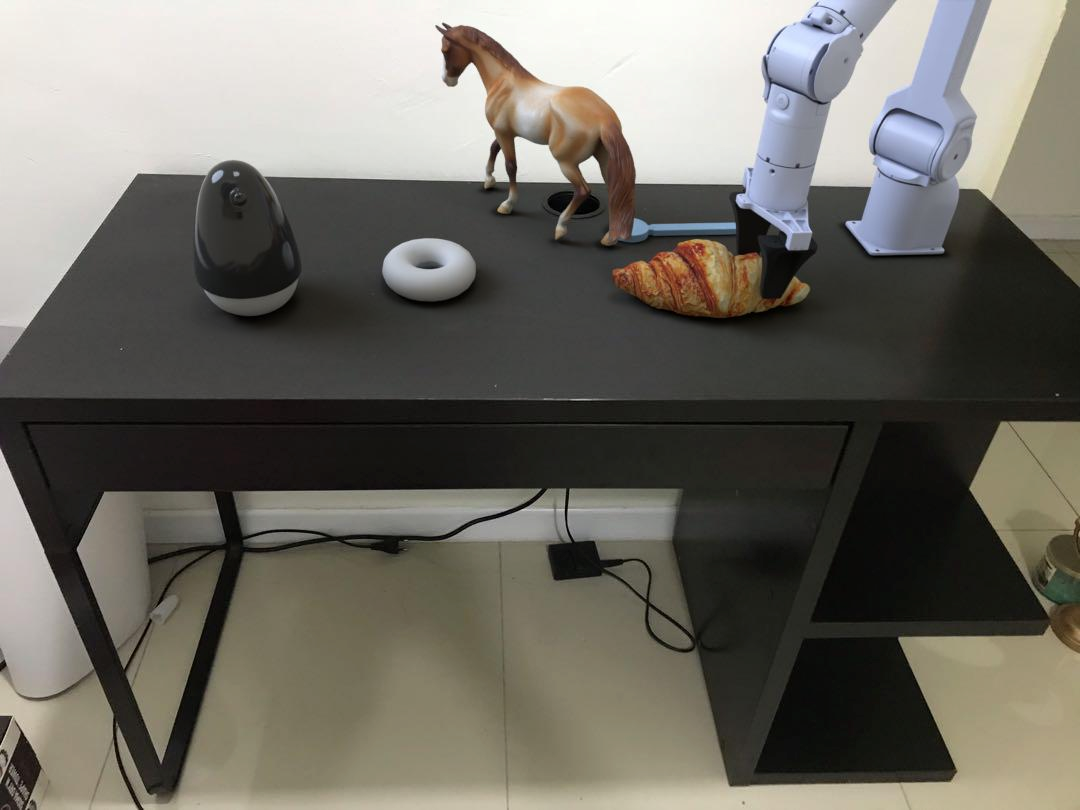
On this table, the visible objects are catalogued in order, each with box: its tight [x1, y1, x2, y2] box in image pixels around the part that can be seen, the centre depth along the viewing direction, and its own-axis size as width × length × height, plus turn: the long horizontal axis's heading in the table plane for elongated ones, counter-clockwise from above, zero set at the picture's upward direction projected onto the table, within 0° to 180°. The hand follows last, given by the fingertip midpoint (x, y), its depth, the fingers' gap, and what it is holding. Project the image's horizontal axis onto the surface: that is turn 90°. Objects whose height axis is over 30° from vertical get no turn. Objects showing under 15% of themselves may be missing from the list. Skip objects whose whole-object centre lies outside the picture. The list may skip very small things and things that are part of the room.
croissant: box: [611, 238, 811, 319], centre depth 96 cm, size 21×10×8 cm, turn 91°
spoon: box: [618, 217, 736, 244], centre depth 110 cm, size 17×5×1 cm, turn 98°
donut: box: [381, 237, 477, 302], centre depth 97 cm, size 10×4×10 cm
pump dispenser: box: [192, 159, 303, 317], centre depth 89 cm, size 10×10×15 cm
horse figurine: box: [434, 22, 637, 247], centre depth 103 cm, size 31×8×21 cm, turn 45°
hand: (758, 277), depth 97 cm, fingers open, 7 cm apart
